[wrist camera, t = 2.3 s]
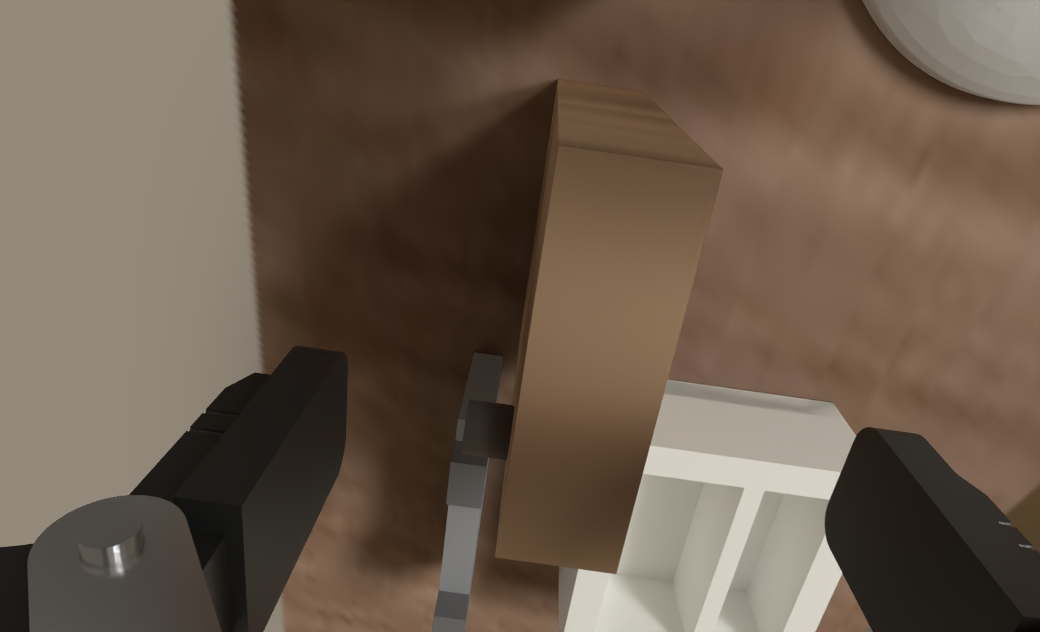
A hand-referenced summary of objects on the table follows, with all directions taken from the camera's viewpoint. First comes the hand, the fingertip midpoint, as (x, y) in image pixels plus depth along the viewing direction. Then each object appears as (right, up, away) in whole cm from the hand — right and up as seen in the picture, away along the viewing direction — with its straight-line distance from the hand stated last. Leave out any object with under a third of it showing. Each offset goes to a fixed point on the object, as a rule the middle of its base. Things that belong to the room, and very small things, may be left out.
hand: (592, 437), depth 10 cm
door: (+1, +5, +10) cm, 11 cm away
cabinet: (+3, -4, +14) cm, 15 cm away
